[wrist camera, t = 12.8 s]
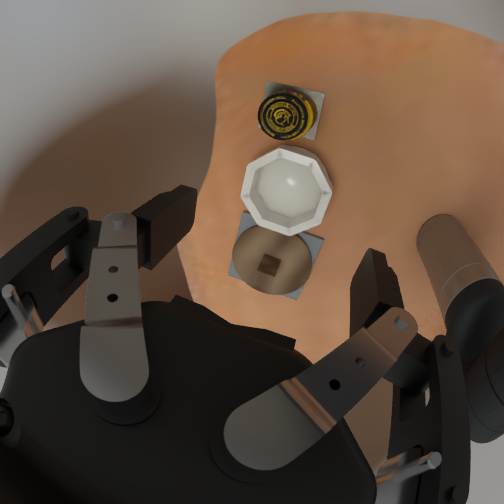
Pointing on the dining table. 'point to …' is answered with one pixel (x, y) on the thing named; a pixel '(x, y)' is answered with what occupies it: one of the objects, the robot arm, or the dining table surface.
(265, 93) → the condiment
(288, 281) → the lid
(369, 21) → the dining table surface
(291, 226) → the bowl
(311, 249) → the mat
